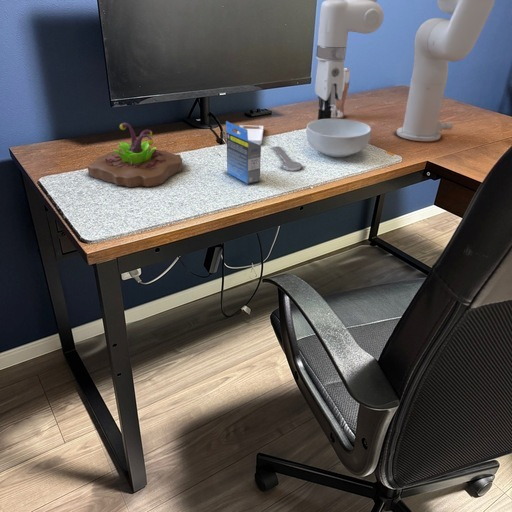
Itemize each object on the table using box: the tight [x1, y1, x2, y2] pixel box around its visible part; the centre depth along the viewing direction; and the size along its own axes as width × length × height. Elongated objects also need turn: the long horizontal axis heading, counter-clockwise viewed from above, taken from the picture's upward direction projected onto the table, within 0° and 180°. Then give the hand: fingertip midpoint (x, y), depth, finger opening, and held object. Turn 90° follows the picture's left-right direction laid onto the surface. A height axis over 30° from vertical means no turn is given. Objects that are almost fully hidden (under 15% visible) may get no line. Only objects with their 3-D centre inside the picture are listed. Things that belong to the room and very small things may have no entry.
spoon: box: [273, 146, 302, 172], centre depth 125 cm, size 5×17×1 cm, turn 12°
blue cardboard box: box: [225, 120, 262, 185], centre depth 110 cm, size 9×4×12 cm, turn 35°
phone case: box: [236, 124, 265, 146], centre depth 140 cm, size 7×1×15 cm
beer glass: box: [331, 67, 351, 119], centre depth 159 cm, size 7×7×15 cm
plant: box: [87, 122, 183, 188], centre depth 112 cm, size 20×20×11 cm
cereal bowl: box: [305, 118, 372, 158], centre depth 128 cm, size 17×17×7 cm
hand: (323, 123), depth 136 cm, fingers closed
